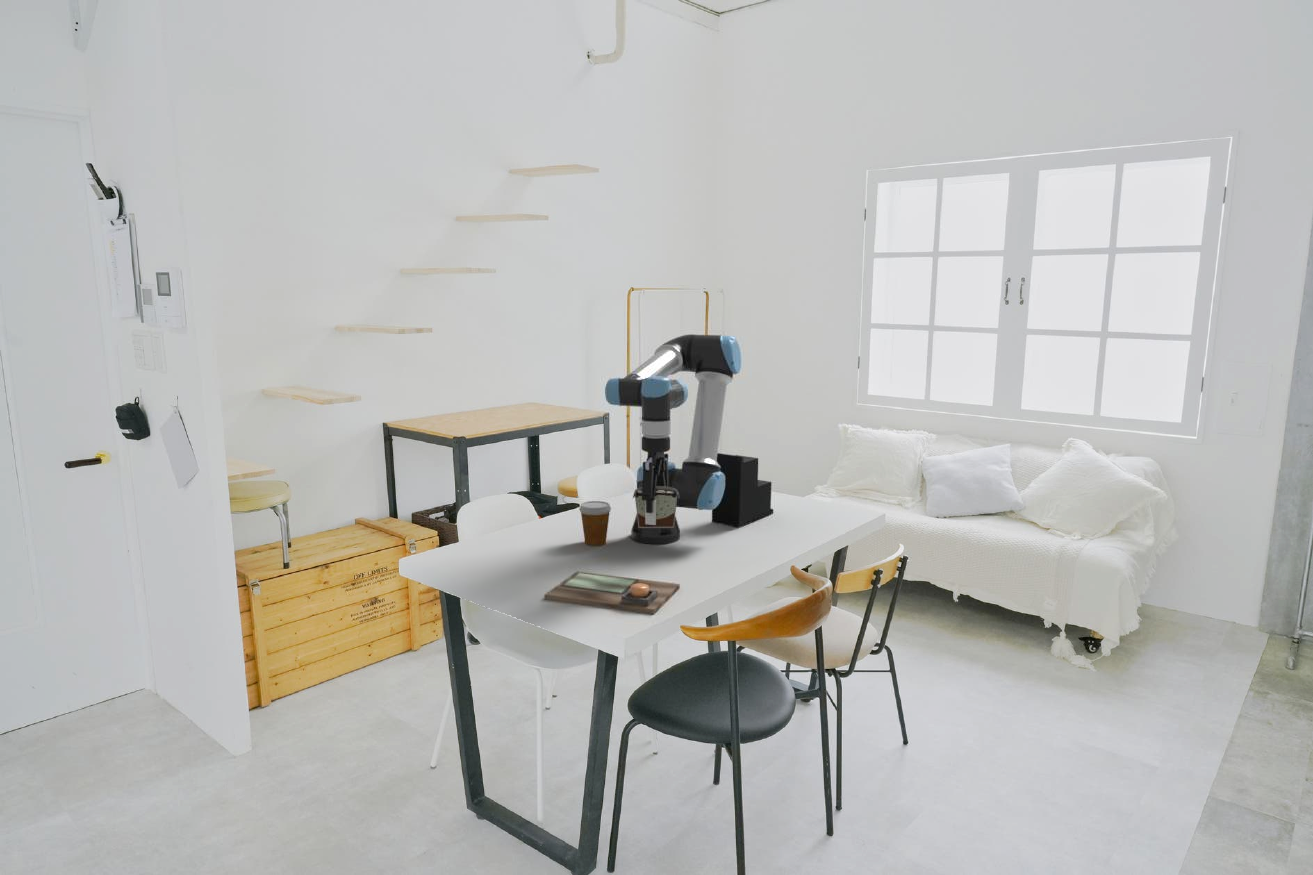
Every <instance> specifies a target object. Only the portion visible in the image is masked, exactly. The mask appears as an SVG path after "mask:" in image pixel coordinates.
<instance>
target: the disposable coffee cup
mask: <svg viewBox="0 0 1313 875" xmlns="http://www.w3.org/2000/svg"><path fill="white" fill-rule="evenodd" d="M578 510H579V511H580V515H581V516H580V517H581V522H582V523H581V524H582V532H583V537H584V543H585V545H587V546H590V547H591V546H593V547H597V546H603V545H605V544H606V543H607V538H608V537H607V535H608V528H609V521H610V520H609V518H610V512H611V510H612V507H611V506H610V503H609V502H606V501H602V500H601V501H600V500H592V501H591V500H590V501H589V500H588V501H585V502H582V503H580V507H579V508H578Z"/></svg>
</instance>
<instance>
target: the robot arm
mask: <svg viewBox="0 0 1313 875" xmlns="http://www.w3.org/2000/svg"><path fill="white" fill-rule="evenodd" d="M741 355H742V354H741V348H740V345H739V341H738V339H737V338H736V337H734V336H733V335H723V334H714V335H713V334H684V335H681V336H677V337H674V338H672V339H670V340H668V341H666V342H664V343H663V344H661V345H660V346H659V347H657V348H656V350H655V351H654V354H653V355H652V356H650V357H649V358H648V359H647V360H645V361H644V362H643V363H641V364H640V365H639V366H637V367H636V368H635V369H634V370H632V371H631V372H630V373H629V374H627V375H626V376H625V377H623V378H621V377H615V378H610V379H608V380H607V381H606V384H605V388H604V394H605V400H606V402H607V403H608V404H609V405H612V406H619V407H637V408H638V407H639V408H641V422H639V426H641V434H642V437H641V450H642V451H643V452H646V453H647V456H646V461H642V465H640V466H639V467H638V469H637V471H636V489H638V488H641V487H642V500H645V524H649V525H656V500H655V491H656V486H665V487H671V488H675V489H677V490H678V493H679V497H680V498H679V497H677V504H676V508H685V509H691V510H692V509H695V510H698V511H702V510H705V511H712V510H713V509H715V508H716V507H717V506H718V505H719V503H720V501H721V499H722V497H723V494H724V489H725V475H724V474H723V473H722V472H720V469H721V467H720V465H719V464H718V463H717V453H719V445H720V444H719V443H720V439H721V438H720V436H721V429H722V423H723V415H724V414H723V413H724V407H725V400H726V392H727V386H728V385H729V384H730V383H732V382H733V380H734V377H733V376H734V375H737V374H739V373H740V371H741V367H742V356H741ZM679 372H685V373H686V372H687V373H688V372H689V373H694V377H695V379H696V380H697V381H698V386H697V393H696V394H697V395H696V401H695V407H694V408H695V409H694V415H693V416H694V417H693V421H692V422H693V423H692V429H691V436H690V442H689V443H690V445H689V450H688V451H689V452H688V456H687V458H686V459H685V460H683V461H682V465H681V468H677V466H676V464H675V463H674V462H671V461H669V453H667V452H669V451H670V450H671V437H670V436H669V435H671V410H672V409H676V408H679V407H680V406H682V405H683V404H684V403H686V401H687V399H688V397H689V390H688V387H687V385H686V384H685V383H684V382H683V381H682V380H680V379H670V378H669V376H672V375H675V374H677V373H679ZM630 534H631V535H630V538H631V539H632V540H633V541H636V542H638V543H641V544H651V545H652V544H653V545H654V544H655V545H658V544H659V545H661V544H671V543H675V542H677V541H678V540H680V539H681V529H680V526H679V523H678V520H677V517H676V515H675V522H674V528H638V519H637V513H636V515H635V518H634V521H633V523H632V527H631V531H630Z"/></svg>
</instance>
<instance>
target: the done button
mask: <svg viewBox="0 0 1313 875" xmlns="http://www.w3.org/2000/svg"><path fill="white" fill-rule="evenodd" d="M648 595H649V586H648V585H647V584H642V583H637V584H633V585H631V596H633V597H646V596H648Z"/></svg>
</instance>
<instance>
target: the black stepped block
mask: <svg viewBox="0 0 1313 875" xmlns="http://www.w3.org/2000/svg"><path fill="white" fill-rule="evenodd" d="M717 463H718V464H719V465H720V467H721V469H720V472H722V473H723V474H724V475H725V489H724V494H723V497H722V499H721V501H720V503H719V505H718V506H717V507H716V508H715V509H713V510H711V522H712V523H714V524H715V523H716V524H721V525H725V526H731V527H736V528H741V527H743V526H745V525H748V524H750V523H752V522H755V521H758V520H760V519H762V518H765V517H768V516H769V515H772V514H774V509H773V508H772V507H771V505H772V504H771V503H772V481H767V480H762V479H759V458H758V457H752V456H745V455H740V454H739V455H738V454H727V453H720V452H718V453H717Z"/></svg>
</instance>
